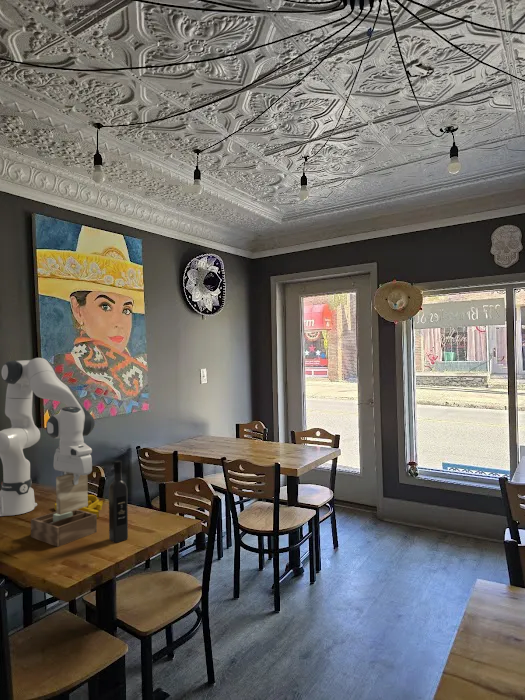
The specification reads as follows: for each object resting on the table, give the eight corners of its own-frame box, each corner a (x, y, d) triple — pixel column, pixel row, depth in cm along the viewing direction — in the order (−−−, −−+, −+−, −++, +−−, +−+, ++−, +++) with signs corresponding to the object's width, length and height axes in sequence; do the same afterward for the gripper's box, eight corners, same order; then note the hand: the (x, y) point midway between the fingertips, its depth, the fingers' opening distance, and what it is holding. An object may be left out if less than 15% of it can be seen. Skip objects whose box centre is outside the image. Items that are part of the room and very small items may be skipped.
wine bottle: (128, 539, 175) (128, 461, 176) (114, 543, 172) (114, 463, 172) (122, 535, 180) (121, 459, 180) (108, 539, 176) (107, 461, 176)
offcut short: (52, 521, 180) (52, 514, 180) (67, 517, 185) (67, 510, 185) (58, 523, 178) (58, 516, 178) (72, 519, 183) (72, 512, 183)
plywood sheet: (56, 513, 174) (56, 476, 175) (84, 504, 185) (83, 470, 185) (60, 514, 173) (60, 477, 173) (87, 505, 183) (87, 470, 183)
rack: (30, 537, 179) (30, 519, 180) (69, 523, 194) (69, 507, 194) (57, 546, 169) (57, 527, 170) (96, 531, 184) (96, 514, 184)
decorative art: (88, 493, 229) (122, 505, 210) (88, 499, 229) (122, 511, 210) (46, 504, 213) (78, 517, 194) (46, 510, 213) (78, 524, 194)
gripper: (49, 447, 182) (49, 482, 182) (80, 452, 171) (80, 489, 171) (63, 444, 188) (63, 478, 187) (94, 449, 176) (95, 485, 176)
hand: (72, 483), depth 179 cm, fingers closed on plywood sheet, 2 cm apart
